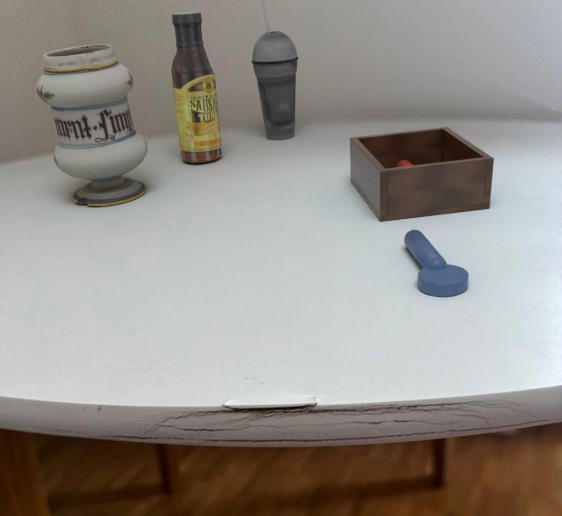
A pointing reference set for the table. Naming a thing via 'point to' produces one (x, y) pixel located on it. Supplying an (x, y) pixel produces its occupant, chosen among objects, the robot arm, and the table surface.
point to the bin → (420, 173)
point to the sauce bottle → (194, 92)
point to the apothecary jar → (93, 122)
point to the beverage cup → (276, 81)
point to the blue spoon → (435, 268)
